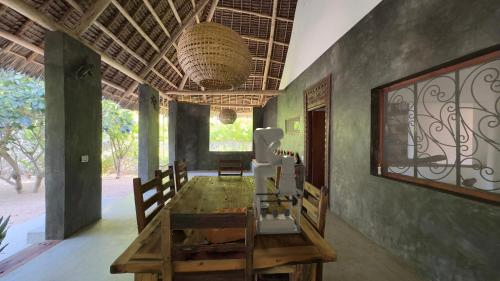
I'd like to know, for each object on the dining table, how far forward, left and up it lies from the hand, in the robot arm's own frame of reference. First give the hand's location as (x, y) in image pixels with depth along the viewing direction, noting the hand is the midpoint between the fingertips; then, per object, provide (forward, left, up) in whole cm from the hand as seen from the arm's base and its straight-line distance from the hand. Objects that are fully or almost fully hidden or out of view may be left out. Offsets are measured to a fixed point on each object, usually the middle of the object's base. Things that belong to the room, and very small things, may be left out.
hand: (287, 204), depth 136 cm
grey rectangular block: (0, -14, -7) cm, 16 cm away
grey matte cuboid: (0, 0, -7) cm, 7 cm away
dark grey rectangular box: (0, -7, -7) cm, 10 cm away
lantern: (+8, -57, -14) cm, 59 cm away
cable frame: (0, -7, -13) cm, 15 cm away
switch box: (0, -7, -13) cm, 15 cm away
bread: (+9, -34, -14) cm, 37 cm away
